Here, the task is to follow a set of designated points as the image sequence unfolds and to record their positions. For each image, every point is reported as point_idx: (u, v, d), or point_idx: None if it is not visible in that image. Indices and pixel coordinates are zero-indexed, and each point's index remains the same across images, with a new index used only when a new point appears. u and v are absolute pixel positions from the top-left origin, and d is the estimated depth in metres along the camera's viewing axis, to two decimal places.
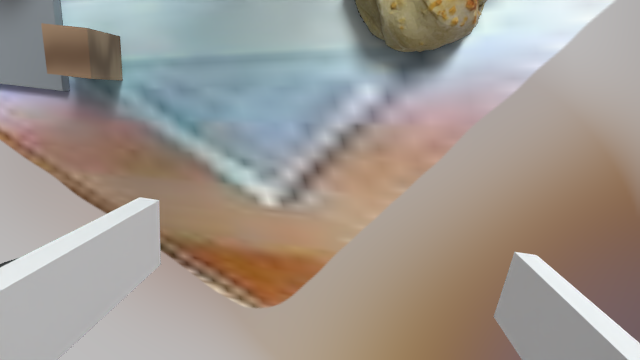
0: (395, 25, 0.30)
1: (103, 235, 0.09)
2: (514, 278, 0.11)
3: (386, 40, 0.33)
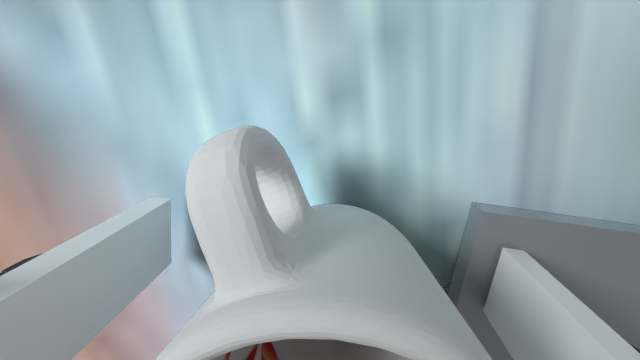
0: None
1: (119, 233, 0.09)
2: (502, 273, 0.11)
3: None
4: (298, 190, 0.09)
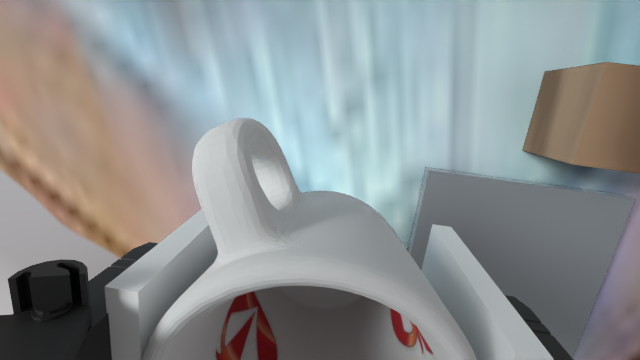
0: None
1: None
2: (430, 247, 0.12)
3: None
4: (289, 176, 0.11)
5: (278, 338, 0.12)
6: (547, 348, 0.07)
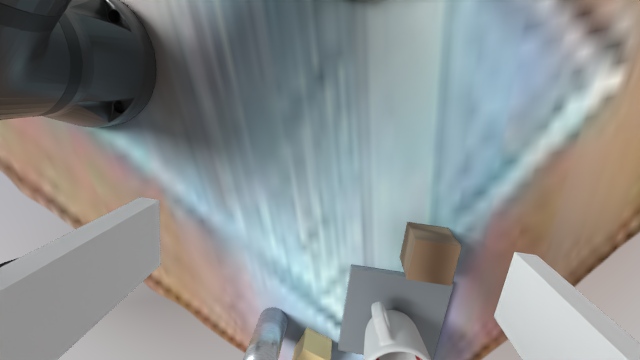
0: None
1: (103, 235, 0.09)
2: (514, 278, 0.11)
3: None
4: (386, 313, 0.38)
5: (379, 358, 0.40)
6: None
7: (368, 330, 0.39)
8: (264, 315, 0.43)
